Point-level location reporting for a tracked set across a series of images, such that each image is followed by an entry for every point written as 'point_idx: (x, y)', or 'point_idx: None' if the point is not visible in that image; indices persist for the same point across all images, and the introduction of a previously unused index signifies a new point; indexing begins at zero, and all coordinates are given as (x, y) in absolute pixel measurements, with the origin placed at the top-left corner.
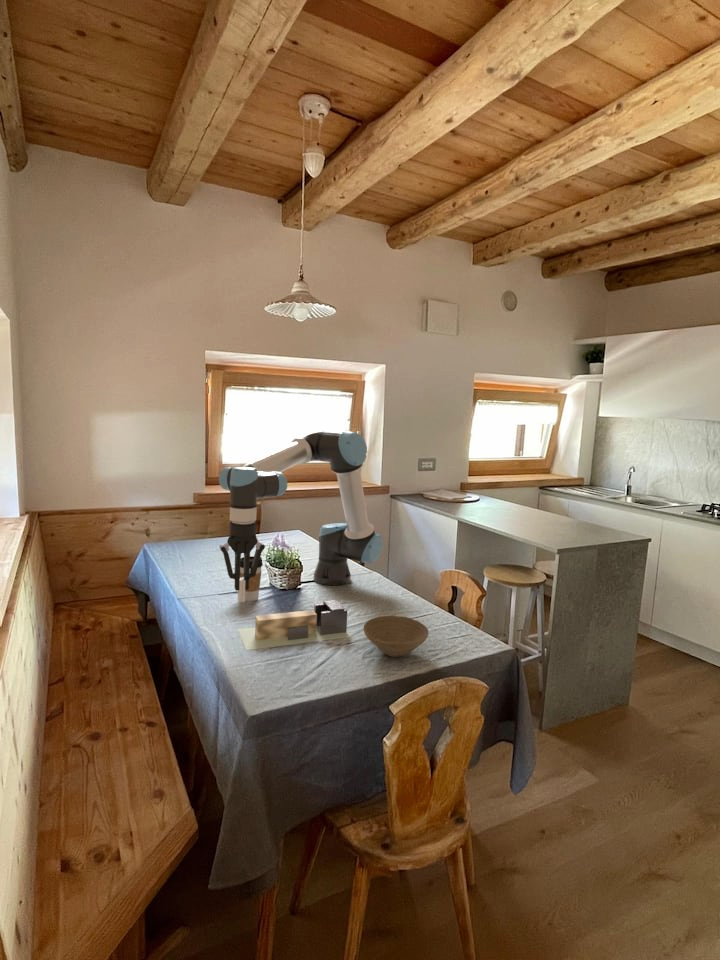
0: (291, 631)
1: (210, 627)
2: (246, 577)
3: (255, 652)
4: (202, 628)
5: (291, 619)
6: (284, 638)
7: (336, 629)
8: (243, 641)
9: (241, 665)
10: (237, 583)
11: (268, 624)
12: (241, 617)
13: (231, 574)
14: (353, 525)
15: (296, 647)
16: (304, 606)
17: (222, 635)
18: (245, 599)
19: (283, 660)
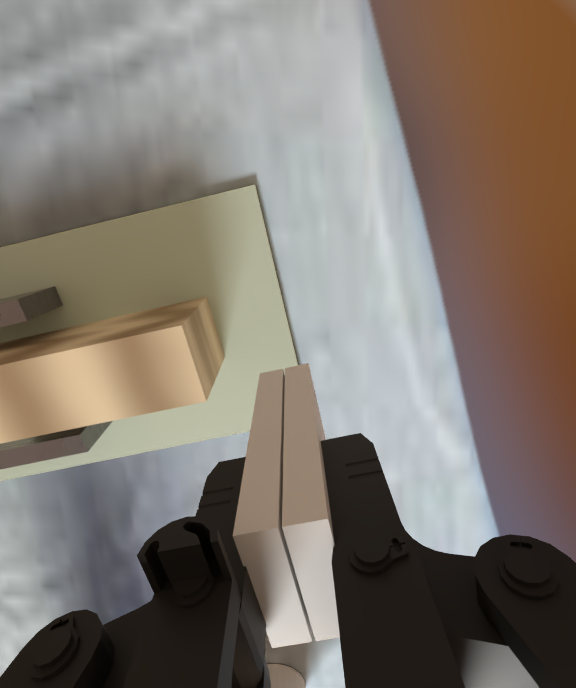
0: (13, 299)
1: (426, 449)
2: (205, 585)
3: (208, 169)
4: (461, 441)
5: None
6: (78, 309)
7: None
8: (274, 286)
9: (269, 4)
10: (357, 499)
11: (130, 329)
12: None
13: (564, 622)
14: None
15: (8, 216)
16: (45, 617)
17: (374, 369)
18: (289, 673)
19: (50, 54)
